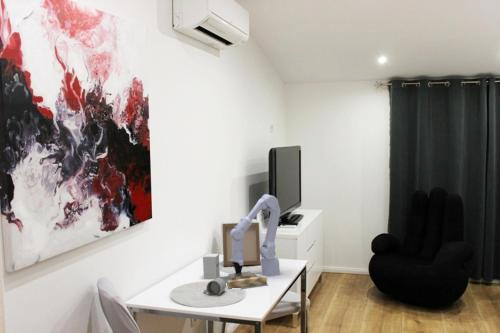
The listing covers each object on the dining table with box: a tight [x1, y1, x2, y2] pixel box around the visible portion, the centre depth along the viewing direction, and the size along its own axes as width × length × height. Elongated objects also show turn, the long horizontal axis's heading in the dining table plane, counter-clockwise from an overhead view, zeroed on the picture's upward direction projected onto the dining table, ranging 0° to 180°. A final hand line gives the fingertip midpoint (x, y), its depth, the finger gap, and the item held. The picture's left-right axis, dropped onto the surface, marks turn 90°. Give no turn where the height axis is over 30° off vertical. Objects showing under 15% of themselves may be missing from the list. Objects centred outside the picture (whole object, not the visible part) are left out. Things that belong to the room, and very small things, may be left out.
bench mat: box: [218, 272, 269, 290], centre depth 250 cm, size 20×26×1 cm
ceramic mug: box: [203, 278, 227, 297], centre depth 233 cm, size 11×8×8 cm
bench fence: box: [226, 274, 268, 290], centre depth 243 cm, size 20×5×4 cm, turn 107°
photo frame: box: [222, 222, 261, 267], centre depth 289 cm, size 15×22×25 cm
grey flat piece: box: [227, 270, 253, 280], centre depth 252 cm, size 12×8×3 cm, turn 107°
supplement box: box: [202, 253, 221, 280], centre depth 261 cm, size 7×7×13 cm
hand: (238, 275), depth 257 cm, fingers closed
